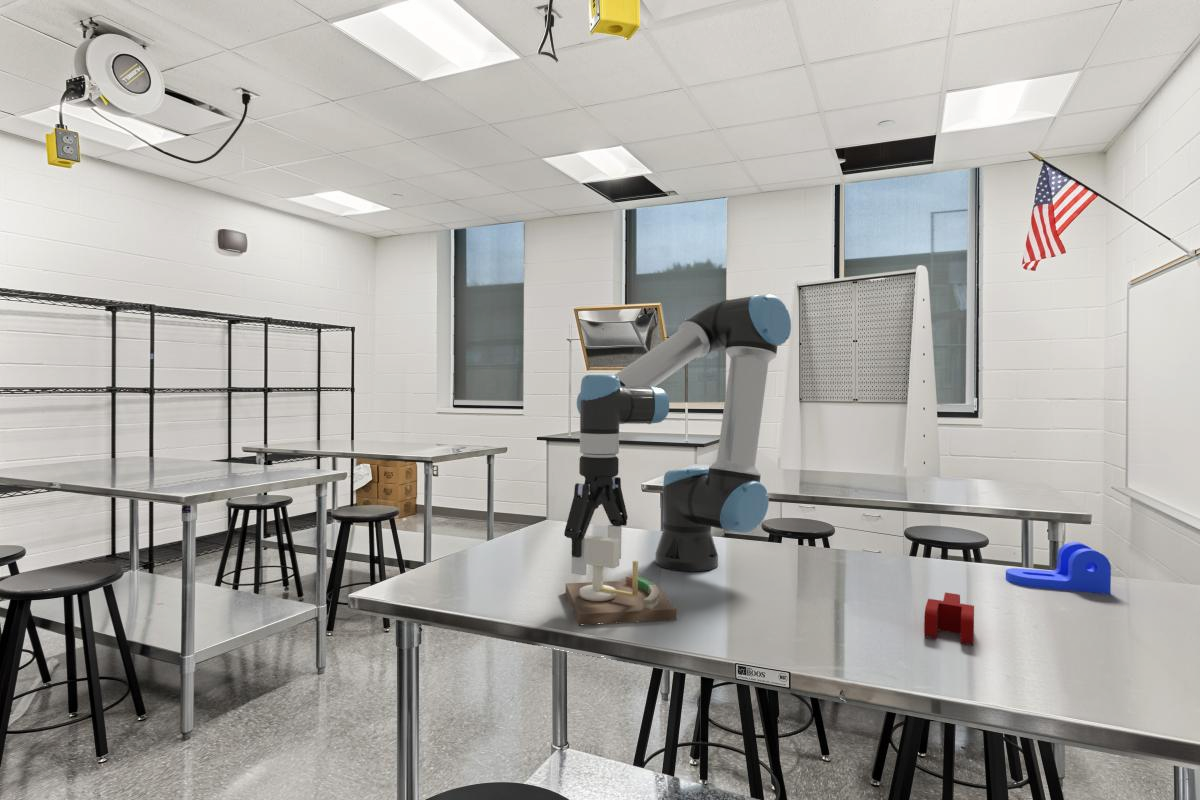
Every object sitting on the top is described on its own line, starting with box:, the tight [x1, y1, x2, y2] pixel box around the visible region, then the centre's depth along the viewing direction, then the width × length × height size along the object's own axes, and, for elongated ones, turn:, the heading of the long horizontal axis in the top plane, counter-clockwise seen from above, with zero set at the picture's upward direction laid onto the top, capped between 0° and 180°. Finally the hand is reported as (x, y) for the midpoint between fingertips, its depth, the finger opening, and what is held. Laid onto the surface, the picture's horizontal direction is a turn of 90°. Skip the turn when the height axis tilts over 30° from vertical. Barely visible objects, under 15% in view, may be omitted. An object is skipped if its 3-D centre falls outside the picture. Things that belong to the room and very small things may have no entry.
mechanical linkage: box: [923, 592, 975, 646], centre depth 113 cm, size 16×7×5 cm, turn 149°
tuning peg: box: [580, 534, 639, 601], centre depth 121 cm, size 7×12×11 cm, turn 60°
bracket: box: [1005, 541, 1112, 595], centre depth 140 cm, size 18×8×9 cm, turn 72°
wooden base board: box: [565, 574, 678, 626], centre depth 123 cm, size 18×18×4 cm
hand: (597, 565), depth 122 cm, fingers open, 13 cm apart
